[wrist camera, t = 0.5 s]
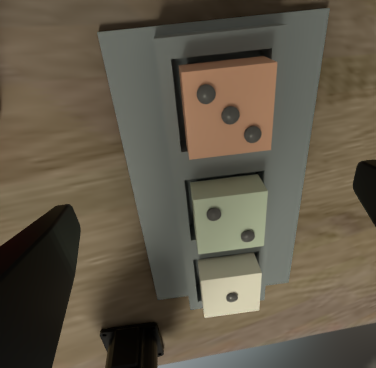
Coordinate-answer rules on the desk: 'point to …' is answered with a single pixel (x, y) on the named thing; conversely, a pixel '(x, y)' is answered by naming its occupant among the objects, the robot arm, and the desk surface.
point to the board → (221, 165)
